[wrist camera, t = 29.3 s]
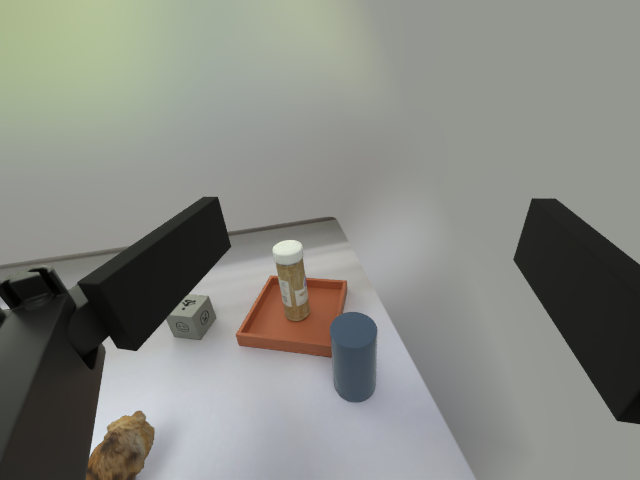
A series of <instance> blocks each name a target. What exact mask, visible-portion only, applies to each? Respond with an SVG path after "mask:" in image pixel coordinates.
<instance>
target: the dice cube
mask: <svg viewBox="0 0 640 480" xmlns="http://www.w3.org/2000/svg"><path fill="white" fill-rule="evenodd" d="M215 319H216V316H215V313H214V310H213V307H212V304H211V301H210V298H209V296H203V295H191V294H188V295H187V296H186V297H185V298H184V299H183V300H182V301H181V303H180V304H179V305H178V306H177V307H176V308H175V309H174V310H173V311H172V312H171V314H170V315H169V316H168V317H167V318H166V320H167V322H168V325H169V327H170V329H171V331H172V333H173V335H174V337H181V338H189V339H198V340H201V339H202V337H203V336H204V334H205V333H206V332H207V330H208V329H209V327H210V326H211V324H212V323H213V322H214V320H215Z"/></svg>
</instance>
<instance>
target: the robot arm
mask: <svg viewBox="0 0 640 480" xmlns="http://www.w3.org/2000/svg"><path fill="white" fill-rule="evenodd" d="M230 247H231V244H230V240H229V237H228V233H227V229H226V225H225V222H224V218H223V214H222V211H221V207H220V203H219V199H218V197H203V198H201V199H200V200H198V201H197V202H195V203H194V204H192V205H191V206H189V207H188V208H186V209H185V210H183V211H182V212H181V213H179V214H177V215H176V216H174V217H173V218H172V219H170V220H169V221H167V222H166V223H164V224H163V225H161V226H160V227H158V228H157V229H155V230H154V231H152V232H151V233H150V234H148V235H146V236H145V237H144V238H142V239H141V240H139V241H138V242H136V243H135V244H133V245H132V246H130V247H129V248H127V249H126V250H124V251H123V252H121V253H120V254H118V255H117V256H115V257H114V258H112V259H111V260H109V261H108V262H106V263H105V264H104V265H102V266H101V267H99V268H98V269H96V270H95V271H93V272H92V273H90V274H89V275H87V276H86V277H84V278H83V279H81V280H80V281H78V282H77V285H75V286H74V287H72V288H71V289H69V290H67V289H66V287H65V286H64V284H63V283H62V281H61V280H60V278H59V276H58V275H57V273H56V272H55V270H54V269H53V267H50V266H38V267H32V268H29V269H26V270H23V271H20V272H17V273H15V274H13V275H10V276H8V277H7V278H5V279H3V280H1V281H0V297H1V298H2V299H3V300H4V302H5V303H6V304H7V305H8V307H9V308H10V309H6V310H2V309H1V308H0V480H86V474H87V468H88V462H89V455H90V449H91V442H92V436H93V430H94V423H95V417H96V410H97V404H98V398H99V391H100V385H101V378H102V372H103V366H104V359H105V353H106V352H105V347H104V346H103V344H102V342H103V341H104V340H105V339H106V338H107V337H108V336H110V337H111V339H112V340H113V342H114V344H115V345H116V347H117V348H119V349H126V350H132V351H137V350H138V349H139V348H140V347H141V346H142V345H143V343H144V342H145V341H146V340H147V339H148V338H149V337H150V336H151V335H152V333H153V332H154V331H155V330H156V329H157V328H158V327H159V326H160V325H161V324H162V322H163V321H164V320H165V319H166V318H167V317H168V316H169V315H170V314H171V312H172V311H173V310H174V309H175V308H176V307H177V306H178V305H179V304H180V303H181V301H182V300H183V299H184V298H185V297H186V296H187V295H188V294H189V293H190V292H191V290H192V289H193V288H194V287H195V286H196V285H197V284H198V283H199V282H200V280H201V279H202V278H203V277H204V276H205V275H206V274H207V273H208V272H209V271H210V269H211V268H212V267H213V266H214V265H215V264H216V263H217V262H218V261H219V259H220V258H221V257H222V256H223V255H224V254H225V253H226V252H227V251H228V250H229V248H230ZM514 261H515V263H516V265H517V266H518V268H519V269H520V271H521V272H522V274H523V275H524V277H525V279H526V280H527V282H528V283H529V285H530V286H531V288H532V289H533V291H534V293H535V294H536V296H537V297H538V299H539V300H540V302H541V303H542V305H543V307H544V308H545V309H546V311H547V313H548V314H549V316H550V317H551V319H552V321H553V322H554V324H555V325H556V327H557V328H558V330H559V331H560V333H561V334H562V336H563V338H564V339H565V341H566V342H567V344H568V345H569V347H570V348H571V350H572V352H573V353H574V355H575V356H576V358H577V359H578V361H579V363H580V364H581V366H582V367H583V369H584V370H585V372H586V373H587V375H588V377H589V378H590V380H591V381H592V383H593V384H594V386H595V387H596V389H597V391H598V392H599V394H600V395H601V397H602V398H603V400H604V401H605V403H606V405H607V406H608V408H609V409H610V411H611V412H612V414H613V415H614V417H615V419H616V420H617V421H621V422H628V423H635V424H640V265H639V264H638V263H637V262H636V261H634V260H633V259H632V258H630V257H629V256H628V255H627V254H625V253H624V252H623V251H621V250H620V249H619V248H617V247H616V246H615V245H614V244H613V243H611V242H610V241H609V240H608V239H606V238H605V237H604V236H602V235H601V234H600V233H599V232H597V231H596V230H595V229H594V228H592V227H591V226H590V225H588V224H587V223H586V222H585V221H583V220H582V219H581V218H579V217H578V216H577V215H576V214H574V213H573V212H572V211H571V210H569V209H568V208H567V207H565V206H564V205H563V204H562V203H560V202H559V201H558V200H557V199H532V200H531V204H530V207H529V210H528V213H527V217H526V220H525V223H524V227H523V230H522V233H521V237H520V240H519V243H518V247H517V250H516V253H515V256H514Z"/></svg>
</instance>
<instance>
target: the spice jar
mask: <svg viewBox="0 0 640 480" xmlns="http://www.w3.org/2000/svg"><path fill="white" fill-rule="evenodd" d="M303 255H304V254H303V247H302V244H301V243H300V242H298V241H295V240H286V241H282V242H279V243H278V244H276V245H275V246H274V247H273V257H274V260H275V262H276V266H277V272H278V279H279V285H280V290H281V295H282V301H283V303H284V309H285V316H286V318H287V319H288V320H290V321H301V320H303V319H305V318H307V317H308V315H309V314H310V307H309V301H308V291H307V284H306V276H305V271H304V264H303Z"/></svg>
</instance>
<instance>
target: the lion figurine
mask: <svg viewBox="0 0 640 480" xmlns="http://www.w3.org/2000/svg"><path fill="white" fill-rule="evenodd" d="M145 420H146V416H145V414H143V413H142V411H136V412H135V413H134V414H133V415H132V416H131V417H130V416H126V415H125V416H123V417H121V418H120V419H118V420H116V421H115V422H112V423H111V424H110V425H108V426H107V430H108V433H107V434H106V435H105V436H104V440H103V442H102V443H100V444H99V445H98V446H97V447H96V448H95V449H94V451H93V452H92V454H91V456H90V458H89V462H88V468H87V474H86V480H134V479H135V476H136V475H137V474H139V472H140V471H141V470H142V469H143V468H144V460H145V459H146V457H147V455H148V454H149V451H150V450H151V446H152V445H153V440H154V428H153V427H152V426H150V424H149V423H148V422H146V421H145Z"/></svg>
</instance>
